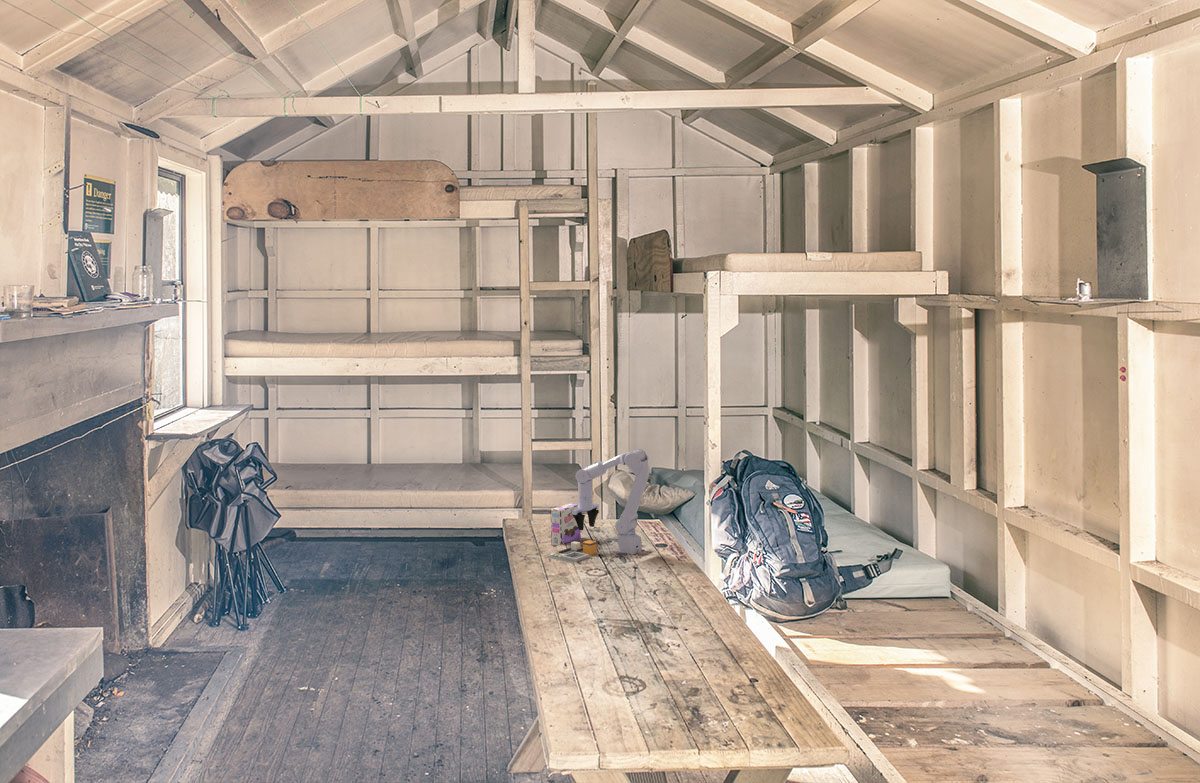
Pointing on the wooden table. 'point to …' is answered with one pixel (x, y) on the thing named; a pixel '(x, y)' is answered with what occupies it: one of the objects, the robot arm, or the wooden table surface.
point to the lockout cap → (590, 547)
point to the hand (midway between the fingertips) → (586, 528)
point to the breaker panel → (571, 555)
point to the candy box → (564, 525)
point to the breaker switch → (575, 545)
